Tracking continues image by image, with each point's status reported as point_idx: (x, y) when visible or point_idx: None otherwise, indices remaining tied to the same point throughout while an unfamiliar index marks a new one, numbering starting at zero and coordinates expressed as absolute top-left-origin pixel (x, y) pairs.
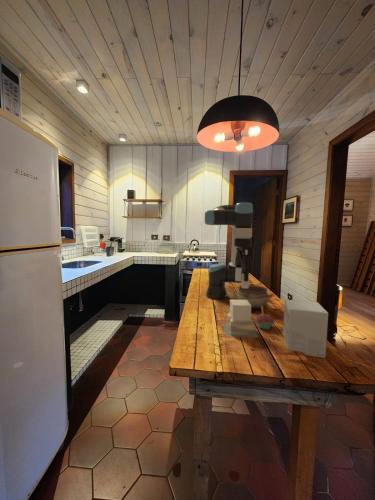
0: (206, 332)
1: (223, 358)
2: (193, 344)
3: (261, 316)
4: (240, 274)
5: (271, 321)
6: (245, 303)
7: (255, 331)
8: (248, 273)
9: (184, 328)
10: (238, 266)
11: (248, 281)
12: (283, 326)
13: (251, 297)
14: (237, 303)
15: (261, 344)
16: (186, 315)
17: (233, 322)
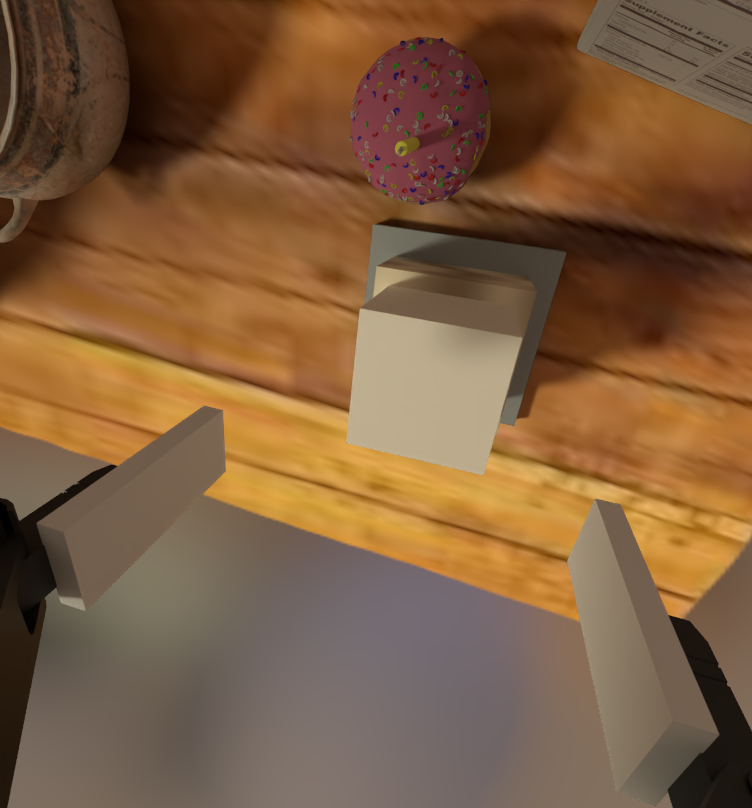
0: (428, 480)
1: (673, 491)
2: (524, 555)
3: (426, 165)
4: (163, 470)
5: (483, 92)
6: (460, 365)
7: (488, 241)
8: (711, 739)
9: (379, 547)
10: (29, 585)
11: (651, 583)
12: (605, 22)
13: (70, 96)
14: (449, 428)
15: (617, 261)
16: (245, 506)
17: (500, 417)
